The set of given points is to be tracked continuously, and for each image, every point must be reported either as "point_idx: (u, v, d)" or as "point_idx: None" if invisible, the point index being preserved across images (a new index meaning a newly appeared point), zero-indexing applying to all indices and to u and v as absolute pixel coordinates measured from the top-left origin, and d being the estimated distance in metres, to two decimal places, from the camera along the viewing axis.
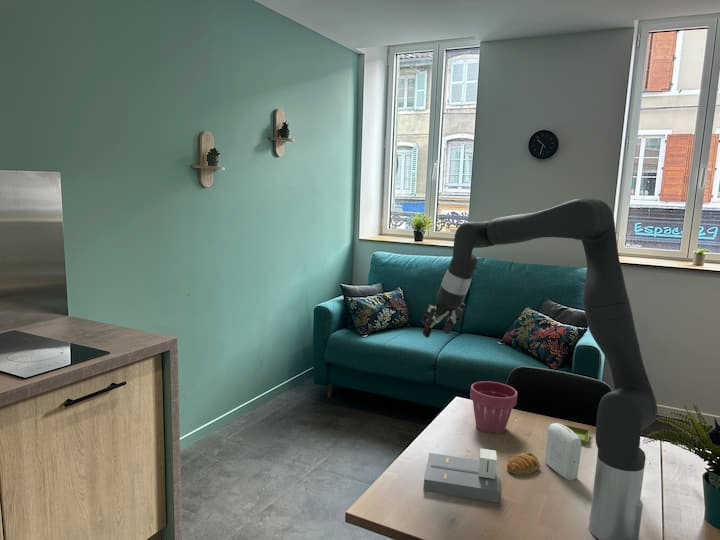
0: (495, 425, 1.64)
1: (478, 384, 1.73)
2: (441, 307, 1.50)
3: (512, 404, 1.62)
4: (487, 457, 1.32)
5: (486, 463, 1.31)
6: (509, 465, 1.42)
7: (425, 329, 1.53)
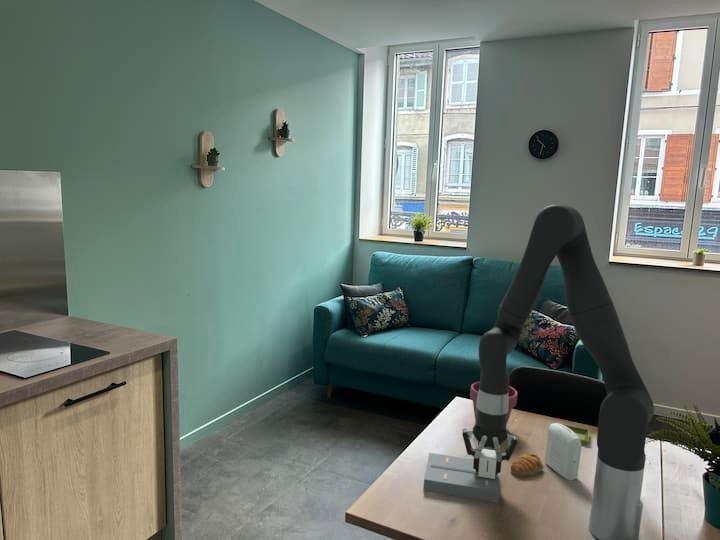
0: None
1: (478, 384, 1.73)
2: (474, 429, 1.32)
3: (512, 404, 1.62)
4: (487, 457, 1.32)
5: (486, 463, 1.31)
6: (513, 467, 1.41)
7: None
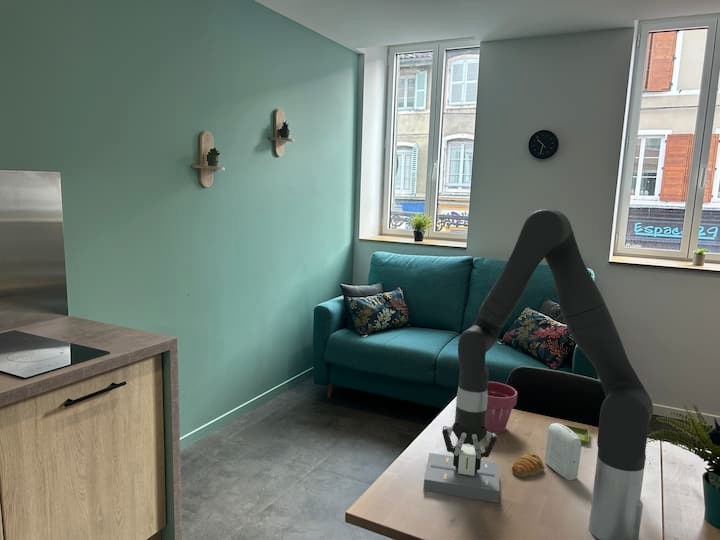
0: (495, 425, 1.64)
1: None
2: (454, 427, 1.33)
3: (512, 404, 1.62)
4: (466, 454, 1.33)
5: (465, 460, 1.32)
6: (514, 467, 1.41)
7: None
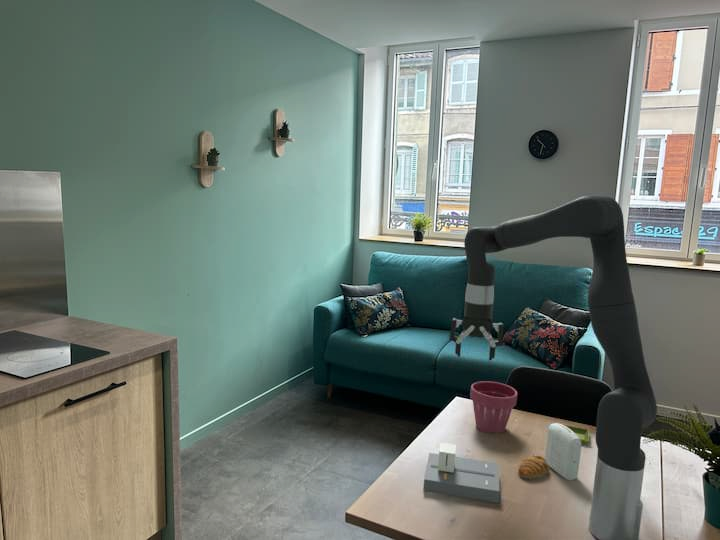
0: (495, 425, 1.64)
1: (478, 384, 1.73)
2: (464, 320, 1.45)
3: (512, 404, 1.62)
4: (446, 451, 1.34)
5: (445, 457, 1.33)
6: (521, 470, 1.40)
7: None
